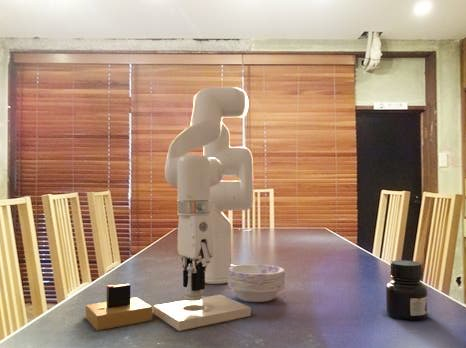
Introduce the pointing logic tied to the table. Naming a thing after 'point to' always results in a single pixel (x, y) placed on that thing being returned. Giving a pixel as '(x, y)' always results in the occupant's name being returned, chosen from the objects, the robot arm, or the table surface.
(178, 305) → the white socket plate
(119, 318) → the orange dial base
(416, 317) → the ink bottle
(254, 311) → the table surface
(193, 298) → the rook chess piece
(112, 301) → the black battery pack
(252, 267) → the paper bowls
